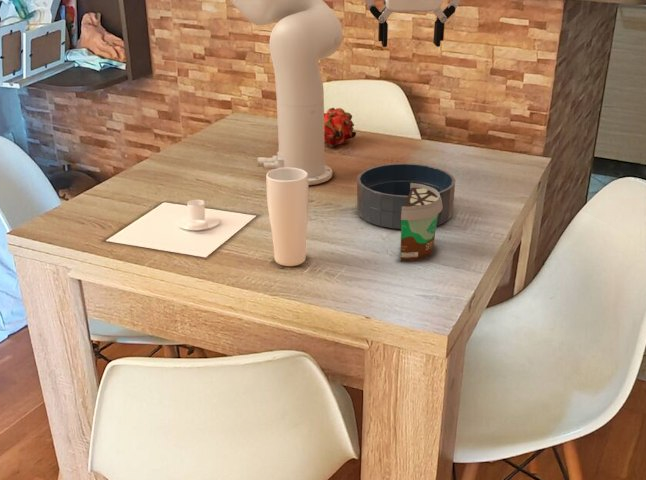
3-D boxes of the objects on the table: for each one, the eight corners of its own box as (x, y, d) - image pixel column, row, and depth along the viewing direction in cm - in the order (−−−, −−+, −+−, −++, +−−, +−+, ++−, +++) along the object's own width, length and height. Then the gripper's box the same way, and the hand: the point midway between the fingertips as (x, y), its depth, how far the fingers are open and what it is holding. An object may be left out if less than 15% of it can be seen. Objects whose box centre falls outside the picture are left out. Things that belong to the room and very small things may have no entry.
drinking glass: (269, 253, 141) (265, 167, 132) (309, 251, 141) (307, 166, 133) (270, 270, 135) (265, 181, 127) (311, 268, 135) (309, 180, 127)
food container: (435, 267, 136) (439, 210, 130) (399, 264, 137) (401, 207, 131) (442, 238, 146) (446, 184, 140) (408, 236, 147) (410, 181, 141)
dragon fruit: (337, 141, 199) (340, 164, 190) (308, 122, 195) (310, 144, 186) (358, 113, 195) (363, 135, 186) (329, 93, 191) (333, 115, 182)
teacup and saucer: (205, 236, 147) (203, 214, 144) (166, 230, 149) (163, 209, 147) (227, 219, 153) (226, 198, 151) (190, 213, 156) (187, 192, 153)
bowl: (362, 232, 148) (362, 198, 145) (352, 196, 163) (352, 164, 160) (461, 229, 149) (464, 195, 146) (442, 193, 165) (444, 162, 161)
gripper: (461, -64, 143) (453, 40, 153) (363, -64, 142) (361, 41, 152) (470, -59, 137) (461, 49, 147) (367, -59, 136) (365, 50, 145)
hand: (410, 45), depth 149 cm, fingers open, 9 cm apart
